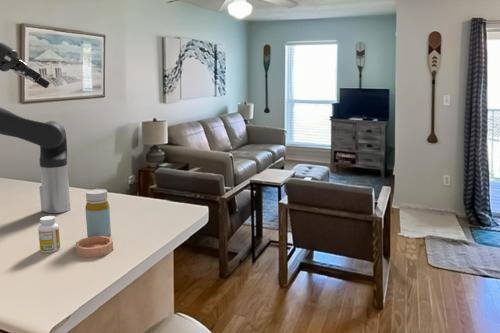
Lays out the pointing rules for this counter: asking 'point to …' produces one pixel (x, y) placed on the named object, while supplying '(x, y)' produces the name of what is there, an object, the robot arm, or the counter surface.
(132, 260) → the counter surface
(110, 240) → the terracotta dish
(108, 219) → the bottle
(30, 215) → the counter surface
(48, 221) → the supplement bottle
